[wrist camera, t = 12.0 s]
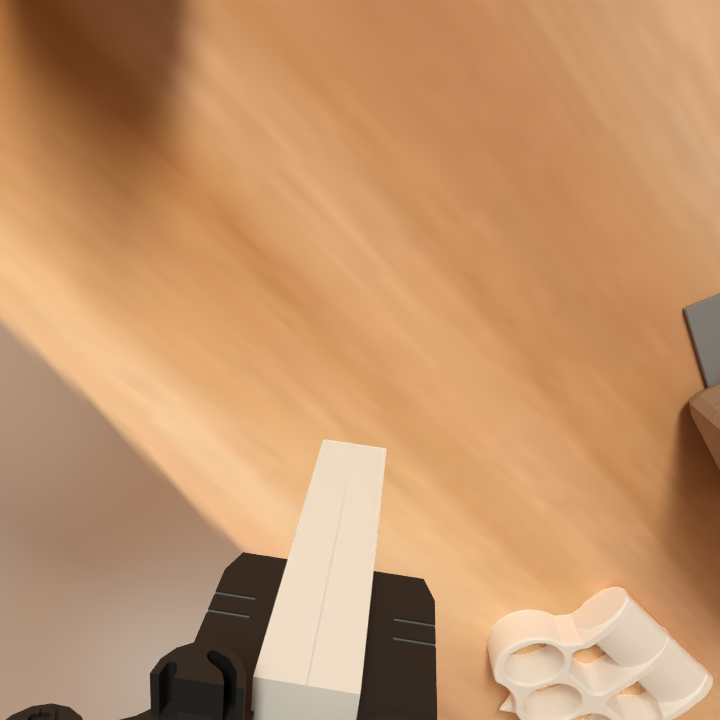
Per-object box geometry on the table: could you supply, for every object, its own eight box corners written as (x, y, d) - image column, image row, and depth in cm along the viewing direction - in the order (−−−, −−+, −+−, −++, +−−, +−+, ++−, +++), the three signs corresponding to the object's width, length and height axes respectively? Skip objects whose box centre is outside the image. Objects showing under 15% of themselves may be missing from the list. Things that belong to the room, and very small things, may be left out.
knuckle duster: (723, 680, 52) (581, 765, 56) (590, 551, 48) (446, 653, 51) (745, 716, 49) (593, 803, 53) (605, 581, 44) (451, 687, 48)
